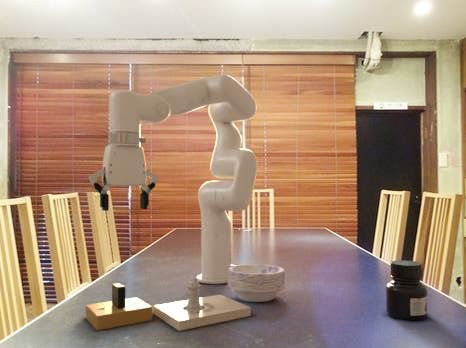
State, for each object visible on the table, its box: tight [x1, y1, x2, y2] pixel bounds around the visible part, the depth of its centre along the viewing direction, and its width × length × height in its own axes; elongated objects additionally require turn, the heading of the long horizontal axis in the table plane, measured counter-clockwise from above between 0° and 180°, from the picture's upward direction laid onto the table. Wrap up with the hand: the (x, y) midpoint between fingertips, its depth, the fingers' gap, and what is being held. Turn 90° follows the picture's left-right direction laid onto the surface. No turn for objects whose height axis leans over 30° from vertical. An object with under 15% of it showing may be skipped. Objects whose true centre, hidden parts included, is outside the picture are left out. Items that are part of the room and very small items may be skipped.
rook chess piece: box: [185, 280, 203, 311], centre depth 99 cm, size 4×4×8 cm
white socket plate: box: [153, 294, 251, 332], centre depth 100 cm, size 18×14×2 cm
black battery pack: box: [111, 282, 126, 309], centre depth 97 cm, size 5×2×5 cm, turn 33°
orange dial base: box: [85, 296, 153, 331], centre depth 97 cm, size 12×10×3 cm
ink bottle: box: [385, 259, 428, 321], centre depth 99 cm, size 10×9×12 cm
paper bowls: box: [227, 263, 286, 303], centre depth 114 cm, size 15×15×8 cm
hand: (124, 209), depth 106 cm, fingers open, 9 cm apart
